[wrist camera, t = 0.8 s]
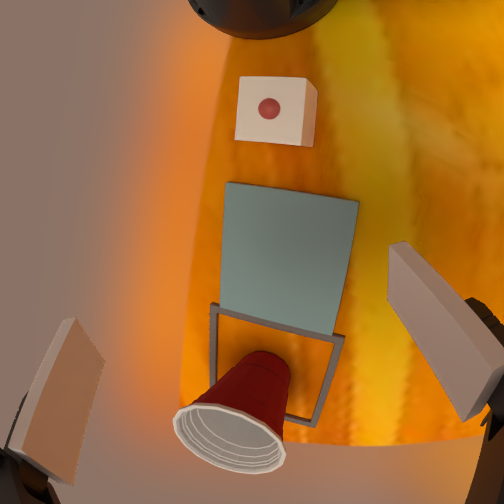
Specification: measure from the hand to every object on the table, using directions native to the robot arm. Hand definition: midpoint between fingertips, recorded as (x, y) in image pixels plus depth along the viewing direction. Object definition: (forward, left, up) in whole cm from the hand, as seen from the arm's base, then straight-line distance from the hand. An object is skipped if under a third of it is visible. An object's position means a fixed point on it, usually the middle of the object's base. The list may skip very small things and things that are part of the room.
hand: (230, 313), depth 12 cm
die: (-9, -3, -17) cm, 20 cm away
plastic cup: (+18, -2, -17) cm, 25 cm away
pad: (+4, -2, -17) cm, 18 cm away
